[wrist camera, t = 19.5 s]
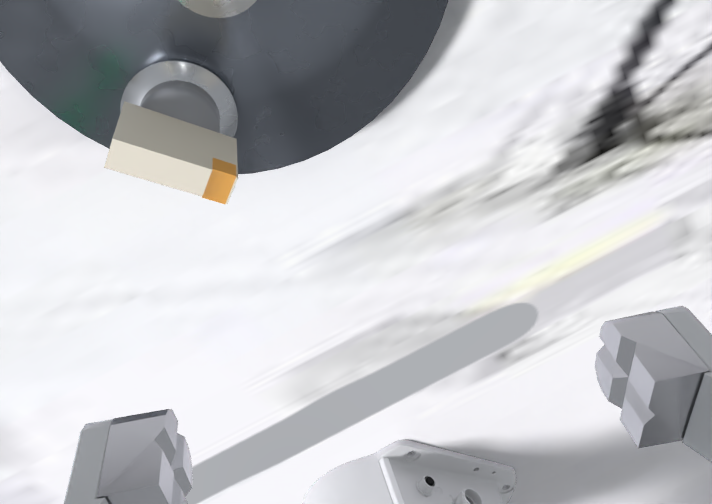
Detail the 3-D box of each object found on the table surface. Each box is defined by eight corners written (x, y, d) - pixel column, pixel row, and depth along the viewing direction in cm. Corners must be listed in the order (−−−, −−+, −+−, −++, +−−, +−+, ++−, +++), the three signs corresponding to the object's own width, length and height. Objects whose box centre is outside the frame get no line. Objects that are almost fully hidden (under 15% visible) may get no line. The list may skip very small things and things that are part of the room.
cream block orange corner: (115, 134, 36) (97, 191, 31) (135, 62, 34) (119, 111, 29) (219, 167, 38) (218, 226, 33) (244, 101, 36) (247, 153, 31)
